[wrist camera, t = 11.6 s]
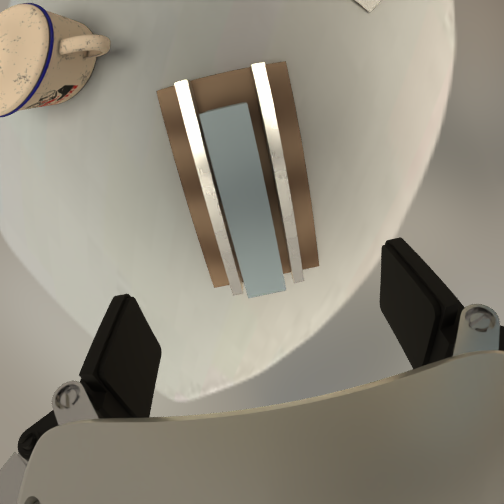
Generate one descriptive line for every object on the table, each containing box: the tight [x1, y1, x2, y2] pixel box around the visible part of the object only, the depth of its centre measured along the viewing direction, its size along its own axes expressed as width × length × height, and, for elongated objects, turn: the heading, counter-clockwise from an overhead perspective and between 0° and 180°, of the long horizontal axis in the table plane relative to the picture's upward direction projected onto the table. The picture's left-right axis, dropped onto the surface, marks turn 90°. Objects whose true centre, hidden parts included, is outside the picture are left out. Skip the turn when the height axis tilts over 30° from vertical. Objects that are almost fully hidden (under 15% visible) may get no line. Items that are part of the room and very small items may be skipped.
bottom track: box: [156, 61, 319, 296], centre depth 26 cm, size 20×11×3 cm, turn 12°
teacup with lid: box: [0, 3, 110, 117], centre depth 15 cm, size 12×9×12 cm
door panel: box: [199, 102, 286, 298], centre depth 24 cm, size 14×3×7 cm, turn 12°
